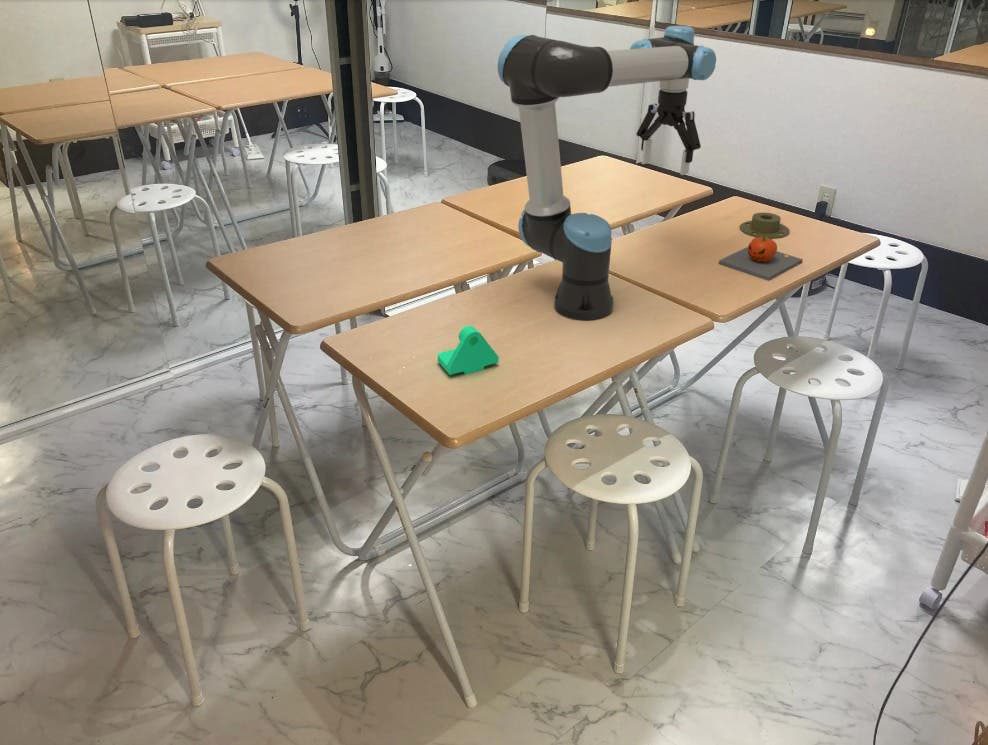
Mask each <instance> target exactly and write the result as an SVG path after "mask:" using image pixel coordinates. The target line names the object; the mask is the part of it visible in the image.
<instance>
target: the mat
mask: <svg viewBox="0 0 988 745" xmlns="http://www.w3.org/2000/svg"><path fill="white" fill-rule="evenodd" d="M803 260H804V259H803V258H799V257H796V256H793V255H791V254H790V255H789V254H787V253H784V252H781V251H778V250H777V252H776V254H775V255H774V257H773V258H772V259H771V260H770V261H766V262H758V261H755V260H753V259H752V258H751V257H750V256H749V254H748V246H745V247H744V248H742V249H741V250H738V251H736V252H734V253H732V254H729V255H728V256H726V257H723V258H721V259H719V260H718V264H719V265H722V266H725V267H728V268H730V269H733V270H736V271H739V272H742V273H745V274H748V275H751V276H754V277H756V278H759V279H763V280H766V281H771V280H772V279H774V278H776V277H778V276H781V274H783V273H786V272H787V271H789V270H791V269H793V268H795V267H797V266H798V265H800V264H802V263H803Z"/></svg>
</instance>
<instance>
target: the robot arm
mask: <svg viewBox="0 0 988 745" xmlns="http://www.w3.org/2000/svg"><path fill="white" fill-rule="evenodd" d="M663 35H664V36H663V37H654V38H653V37H652V38H644V39H641V40H636V41H635V42H634V43H632V44H631V46H630V47H629V49H618V50H617V49H615V50H608V49H606V48H604V47H602V46H585V45H581V44H576V43H572V42H568V41H564V40H558V39H552V38H547V37H542V36H537V35H535V34H519V35H516V36H513V37H512V38H510V39H509V40H508V41H507V42H506V43H505V44H504V47H503V49H501V51H500V53H499V55H498V60H497V73H498V77H499V79H500V80H501V82H502V83H503V84H504V85H506V86H507V87H509V91H510V94H509V95H510V100H511V103H512V104H513V105H514V106H516V107H517V108H518V112H519V120H520V130H521V139H522V146H523V154H524V162H525V164H524V165H525V171H526V172H525V173H526V180H527V188H528V198H529V199H528V201H526V203H525V204H524V209H523V210H522V212H521V214H520V216H521V217H519V220H518V225H517V226H518V227H517V228H518V229H517V230H518V234H519V237H520V239H521V241H522V242H523V243H524V244H525V245H526V246H527V247H529V248H531V250H533V251H536V252H538V253H541V254H543V255H546V256H547V257H550V258H552V259H553V260H556V261H558V262H561V263H562V269H561V270H562V274H561V279H560V283H559V285H558V288H557V291H556V293H555V294H554V304H553V308H554V310H555V311H556V312H557V314H560V315H561V316H563V317H566V318H568V319H573V320H579V321H593V320H600V319H603V318H605V317H607V316H609V315H610V314H612V312H613V311H614V303H615V302H614V301H615V300H614V296H613V295H612V292H611V288H610V287H611V286H610V283H609V282H610V281H609V274H610V272H609V271H610V265H611V264H610V263H611V262H610V261H611V253H612V244H613V238H612V227H611V225H610V223H609V222H608V221H607V220H606V219H604V218H603V217H601V216H599V215H597V214H593V213H586V212H575V213H572V208H571V201H570V199H569V198H568V197H566V196H565V195H564V188H563V186H564V185H563V176H562V165H561V164H562V163H561V154H560V153H561V152H560V144H559V130H558V120H557V111H556V110H557V109H556V103H557V101H558V100H559V99H560V98H567V97H568V98H569V97H576V96H585V95H590V94H599V93H603V92H605V91H606V90H608V88H609V87H619V86H628V85H636V84H646V83H655V82H659V86H658V88H659V90H658V96H657V98H658V99H657V103H656V102H655V103H652V104H648V107H647V112H646V114H645V115H644V118H643V120H642V121H641V124H640V125H639V128H638V130H637V132H636V136H637V137H639V138H640V139H641V147H640V149H641V152H642V155H641V165H646V164H649V163H650V162H651V155H652V154H651V153H652V144H653V139H651V138H652V136H653V135H654V134H655V133H656V131H658V129H659V128H660V127H661V126H662V125H663V126H665V125H666V126H669V127H673V128H674V129H675V130H676V132H677V134H678V136H679V138H680V140H681V142H682V143H681V144H683V147H684V150H683V151H682V156H681V164H680V173H679V175H681V176H683V175H684V176H685V175H687V174H689V172H690V171H689V169H690V163H692V162H693V156H694V151H696V150H700V149H701V147H702V146H701V141H700V137H699V134H698V130H697V126H696V121H695V115H696V114H695V111H685V108H686V105H687V100H688V88H689V84H690V79H691V80H694V81H706V80H708V79H709V78H710V77H711V76H712V75H713V73H714V72H715V69H716V64H717V55H716V52H715V51H714V50H713V49H712V48H711V47H707V46H704V45H698V44H697V45H696V44H694V41H695V29H694V28H693V27H691V26H688V25H687V26H685V25H671V26H668V27H666V29H665V30H664V34H663ZM656 114H657V115H658V116H657V117H656V118H655V115H656ZM654 118H655V119H654ZM652 122H653V123H652Z"/></svg>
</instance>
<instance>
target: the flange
mask: <svg viewBox="0 0 988 745" xmlns="http://www.w3.org/2000/svg"><path fill="white" fill-rule="evenodd" d="M751 216H752V217H751V220H747V221H743V222H742V223H740V225H739V230H740V231H741V233H743V234H745V235H747V236H749V237H753V238H758V237H764V236H765V237H767V238H769V239H772V240H777V239H782V238H785V237H787V236H789V235H790V228H789V227H788V226H786V225H784V224H782V223H781V219H782V218H781V216H780V215H778V214H775V213H771V212H755V213H754V214H752V215H751Z"/></svg>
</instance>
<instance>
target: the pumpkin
mask: <svg viewBox="0 0 988 745" xmlns="http://www.w3.org/2000/svg"><path fill="white" fill-rule="evenodd" d="M747 247H748V254H749V256H750V257H751V258H752V259H753V260H755V261H758V262H766V261H770V260H771V259H772V258H773V257H774V255H775V254H776V252H777V251H778V245H777V243H776V241H775V240H774V239H769V238H767V237H765V236H764V237H758V238H757V237H753V238H752V240H751V241H750V242H749V243H748V245H747Z"/></svg>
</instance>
